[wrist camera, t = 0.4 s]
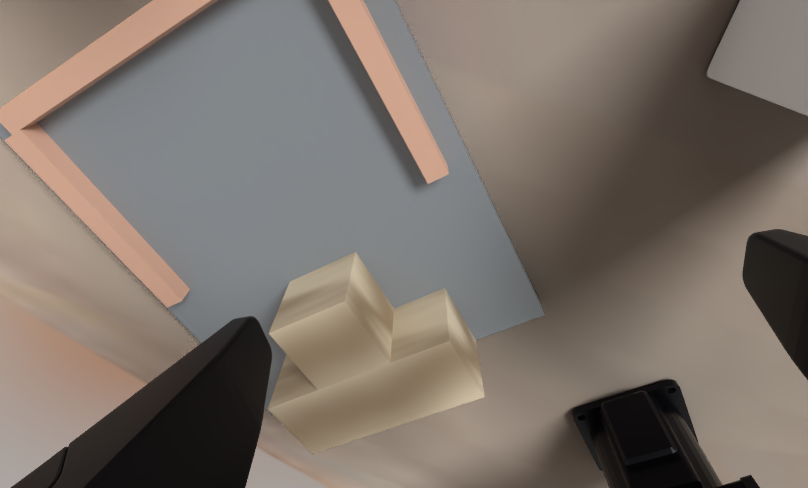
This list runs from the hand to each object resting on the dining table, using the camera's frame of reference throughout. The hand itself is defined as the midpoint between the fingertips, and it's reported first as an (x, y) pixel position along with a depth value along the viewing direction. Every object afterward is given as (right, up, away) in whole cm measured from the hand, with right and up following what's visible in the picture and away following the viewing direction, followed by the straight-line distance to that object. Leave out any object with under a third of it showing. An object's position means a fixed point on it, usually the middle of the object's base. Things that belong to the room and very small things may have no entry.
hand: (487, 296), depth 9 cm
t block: (-4, -3, +17) cm, 18 cm away
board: (-7, +2, +15) cm, 17 cm away
